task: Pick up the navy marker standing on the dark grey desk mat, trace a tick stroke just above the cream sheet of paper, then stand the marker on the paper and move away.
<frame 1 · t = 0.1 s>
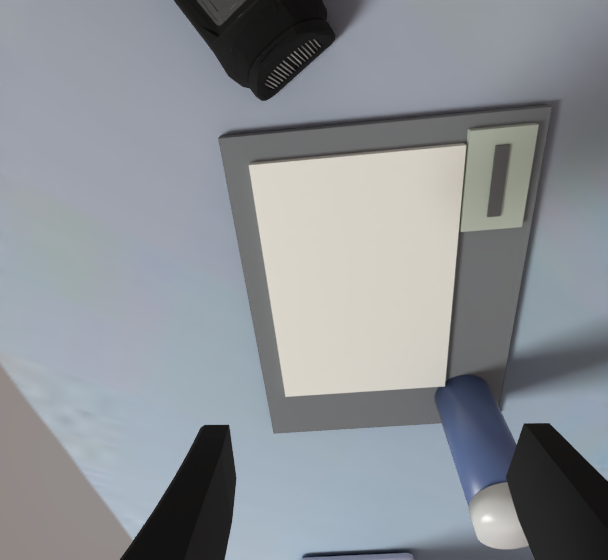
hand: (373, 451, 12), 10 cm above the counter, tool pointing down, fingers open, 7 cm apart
word tile: (491, 175, 18), resting on desk mat
desk mat: (381, 300, 21), on the counter
marker: (461, 395, 24), resting on desk mat
paper: (359, 283, 21), resting on desk mat
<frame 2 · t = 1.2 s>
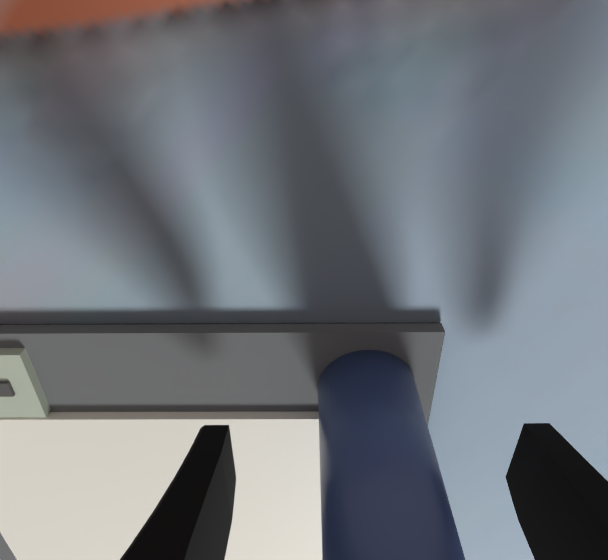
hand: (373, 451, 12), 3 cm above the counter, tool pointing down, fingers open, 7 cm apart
desk mat: (183, 464, 16), on the counter
marker: (365, 387, 13), resting on desk mat
paper: (159, 482, 16), resting on desk mat
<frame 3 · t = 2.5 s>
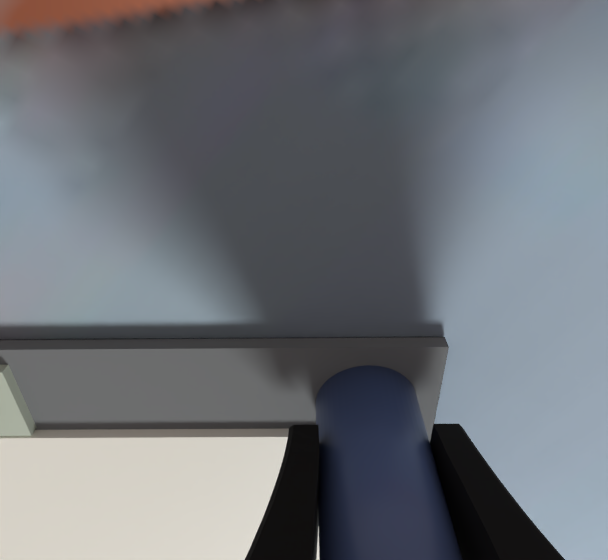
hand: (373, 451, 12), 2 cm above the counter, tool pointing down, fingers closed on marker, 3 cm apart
desk mat: (176, 481, 15), on the counter
marker: (365, 403, 13), resting on desk mat, touching gripper
paper: (152, 500, 16), resting on desk mat
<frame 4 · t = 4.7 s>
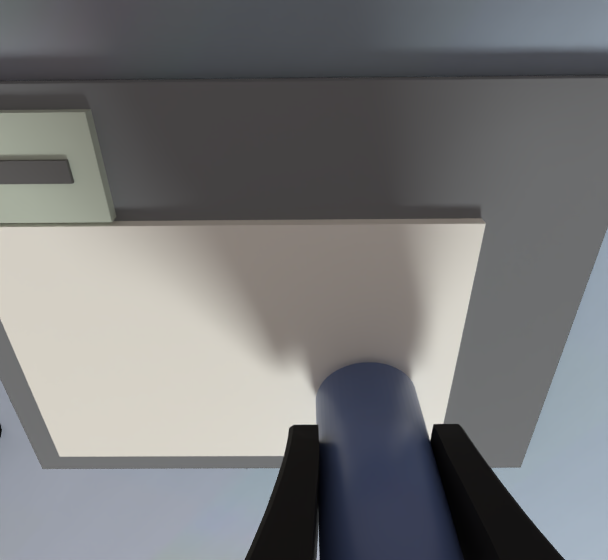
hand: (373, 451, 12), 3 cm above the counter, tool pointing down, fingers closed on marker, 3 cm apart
word tile: (23, 161, 10), resting on desk mat
desk mat: (273, 314, 13), on the counter
marker: (365, 400, 13), point 1 cm above the counter, touching gripper
paper: (240, 343, 13), resting on desk mat
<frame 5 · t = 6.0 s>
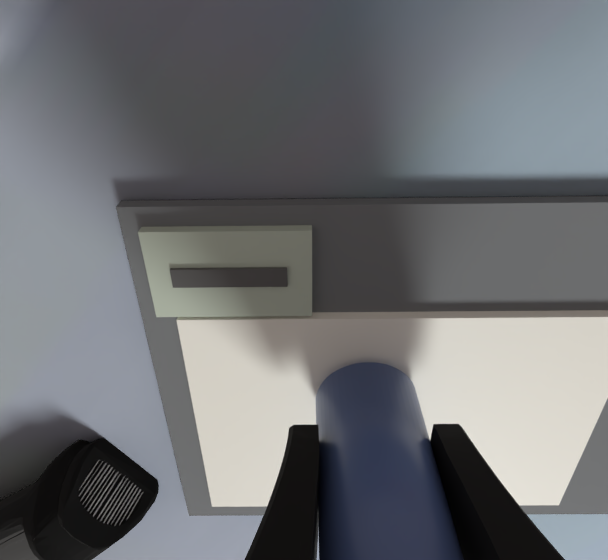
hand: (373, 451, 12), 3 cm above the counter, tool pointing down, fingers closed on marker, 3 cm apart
word tile: (233, 262, 12), resting on desk mat
desk mat: (427, 385, 14), on the counter
electric trimmer: (2, 516, 19), on the counter
marker: (365, 400, 13), point 1 cm above the counter, touching gripper
paper: (391, 408, 15), resting on desk mat
when the fingers open (3 cm above the counter, at t = 7.1 s): marker stays where it is, resting on paper.
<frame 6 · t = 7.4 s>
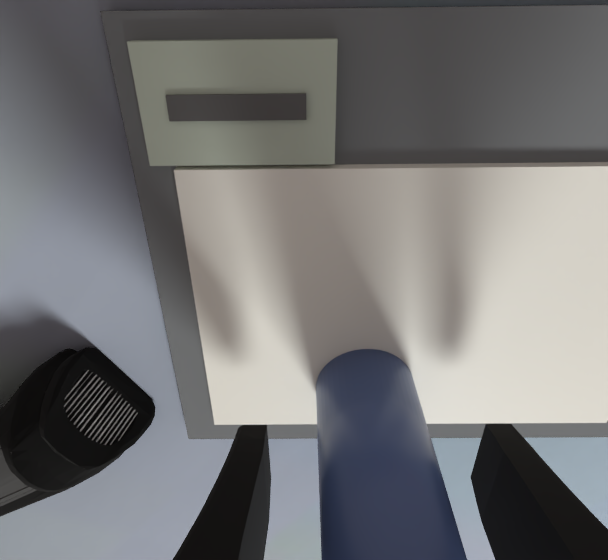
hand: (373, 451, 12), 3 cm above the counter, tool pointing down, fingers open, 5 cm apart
word tile: (241, 100, 10), resting on desk mat
desk mat: (463, 270, 12), on the counter
marker: (364, 386, 13), point 1 cm above the counter, touching paper
paper: (420, 302, 13), resting on desk mat
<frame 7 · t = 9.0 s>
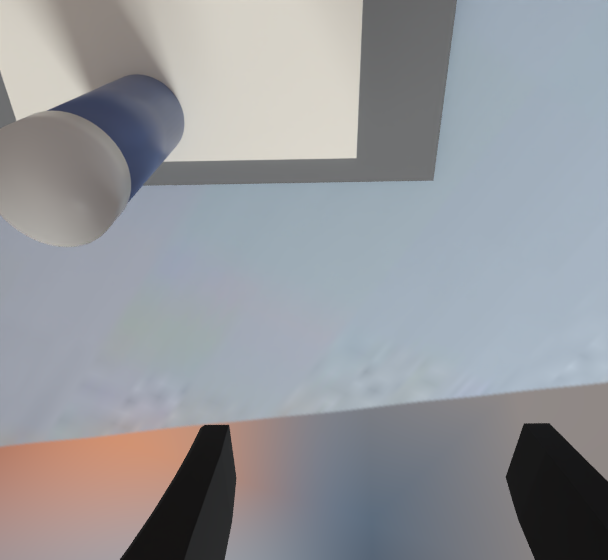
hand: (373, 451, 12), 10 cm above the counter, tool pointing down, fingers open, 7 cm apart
desk mat: (206, 1, 15), on the counter
marker: (144, 117, 16), point 1 cm above the counter, touching paper
paper: (180, 37, 15), resting on desk mat
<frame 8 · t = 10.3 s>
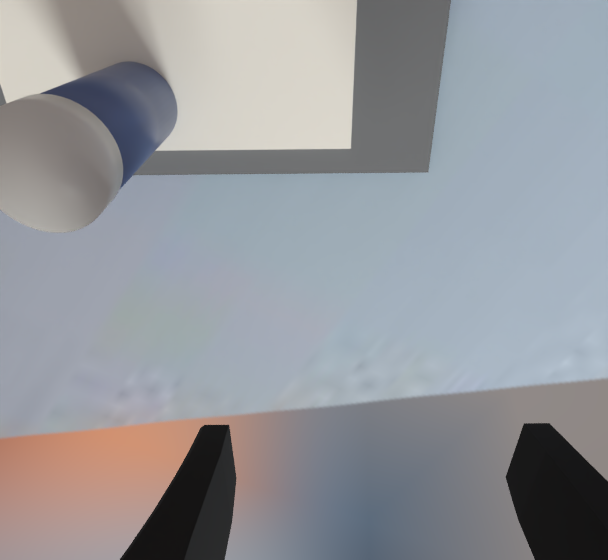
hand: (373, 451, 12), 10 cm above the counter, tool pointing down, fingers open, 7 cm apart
marker: (136, 105, 16), point 1 cm above the counter, touching paper
paper: (173, 24, 15), resting on desk mat
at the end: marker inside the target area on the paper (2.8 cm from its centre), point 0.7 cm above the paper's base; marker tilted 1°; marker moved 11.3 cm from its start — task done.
